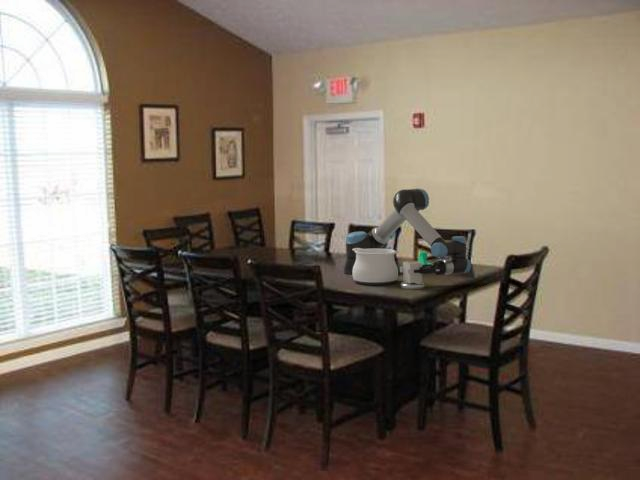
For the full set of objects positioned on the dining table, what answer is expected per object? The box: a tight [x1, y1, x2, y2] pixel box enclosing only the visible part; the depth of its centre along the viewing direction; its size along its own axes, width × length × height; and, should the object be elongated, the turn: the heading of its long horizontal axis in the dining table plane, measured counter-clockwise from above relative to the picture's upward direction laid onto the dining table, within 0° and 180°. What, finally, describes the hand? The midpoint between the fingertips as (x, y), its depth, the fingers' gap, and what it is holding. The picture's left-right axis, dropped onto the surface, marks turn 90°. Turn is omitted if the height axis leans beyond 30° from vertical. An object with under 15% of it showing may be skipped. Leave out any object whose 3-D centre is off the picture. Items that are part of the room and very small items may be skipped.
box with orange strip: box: [402, 260, 423, 283], centre depth 367 cm, size 7×7×11 cm
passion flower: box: [436, 256, 452, 260], centre depth 459 cm, size 11×11×12 cm
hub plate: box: [400, 281, 425, 290], centre depth 368 cm, size 12×12×8 cm
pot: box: [351, 248, 400, 286], centre depth 384 cm, size 28×24×17 cm
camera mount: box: [417, 251, 434, 265], centre depth 432 cm, size 12×8×10 cm, turn 14°
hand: (403, 270), depth 365 cm, fingers closed on box with orange strip, 7 cm apart
